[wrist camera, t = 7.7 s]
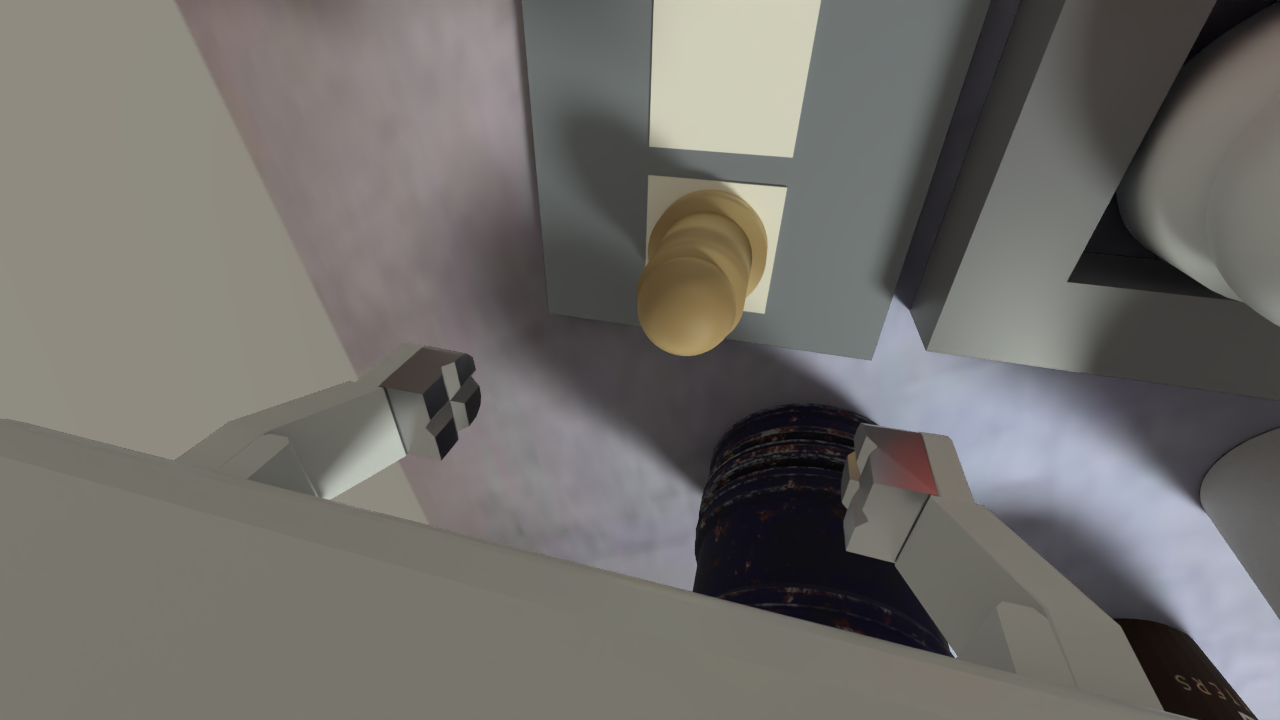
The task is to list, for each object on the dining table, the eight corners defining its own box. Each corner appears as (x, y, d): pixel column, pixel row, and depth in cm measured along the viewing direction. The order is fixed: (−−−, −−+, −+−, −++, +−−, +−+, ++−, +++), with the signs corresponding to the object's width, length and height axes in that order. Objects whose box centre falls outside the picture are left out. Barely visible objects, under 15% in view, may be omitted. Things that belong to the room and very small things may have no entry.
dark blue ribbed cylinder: (670, 465, 28) (575, 805, 16) (814, 363, 22) (839, 766, 10) (798, 566, 30) (802, 940, 18) (960, 495, 24) (1128, 968, 12)
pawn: (757, 306, 20) (744, 405, 15) (651, 291, 21) (603, 381, 16) (777, 196, 18) (770, 267, 13) (656, 184, 19) (601, 247, 14)
